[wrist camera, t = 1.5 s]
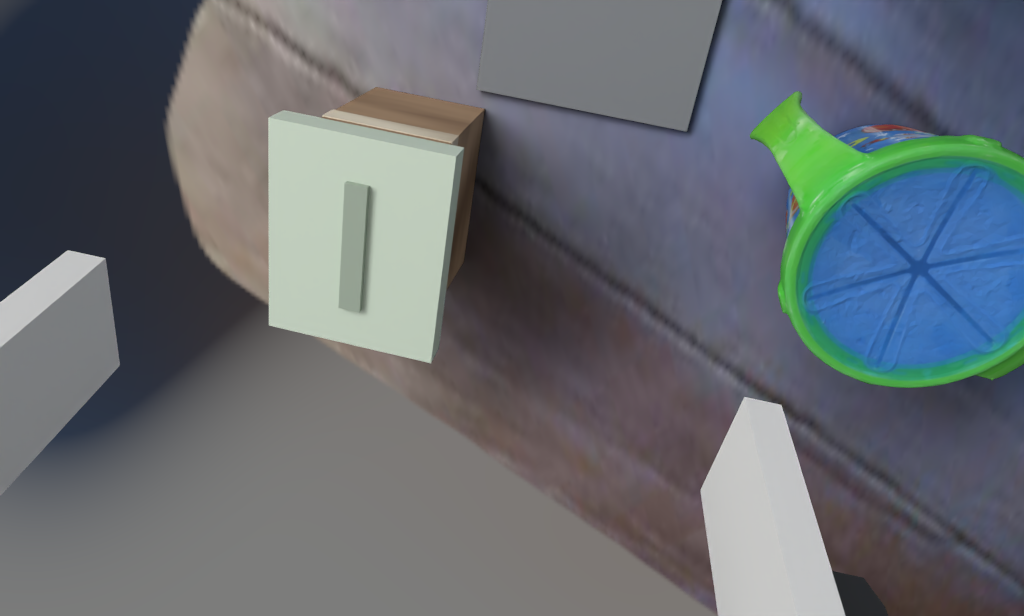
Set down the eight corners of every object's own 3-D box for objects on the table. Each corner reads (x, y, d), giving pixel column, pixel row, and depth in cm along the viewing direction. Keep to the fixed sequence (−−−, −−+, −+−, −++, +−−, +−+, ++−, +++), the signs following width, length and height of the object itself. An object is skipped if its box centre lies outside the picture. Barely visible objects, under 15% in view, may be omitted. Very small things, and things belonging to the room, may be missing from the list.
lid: (438, 348, 36) (429, 366, 34) (282, 312, 37) (266, 328, 35) (464, 147, 31) (454, 158, 30) (283, 110, 32) (265, 119, 30)
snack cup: (1048, 245, 37) (1169, 344, 28) (856, 355, 42) (909, 470, 33) (873, -3, 34) (947, 22, 25) (684, 146, 38) (690, 212, 30)
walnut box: (464, 262, 44) (420, 336, 36) (365, 240, 44) (300, 308, 36) (485, 108, 39) (441, 153, 31) (375, 85, 40) (304, 125, 32)
